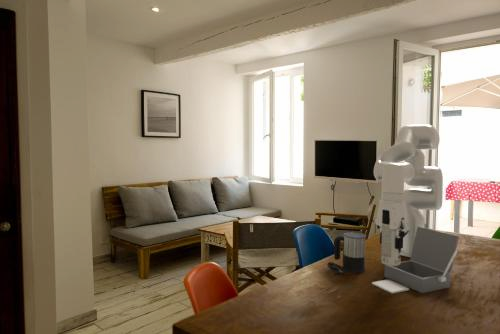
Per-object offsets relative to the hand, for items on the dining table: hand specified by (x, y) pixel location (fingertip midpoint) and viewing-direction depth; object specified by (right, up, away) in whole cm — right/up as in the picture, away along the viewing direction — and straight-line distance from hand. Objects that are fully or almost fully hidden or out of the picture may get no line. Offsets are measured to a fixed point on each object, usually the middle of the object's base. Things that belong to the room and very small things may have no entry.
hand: (391, 245), depth 137 cm
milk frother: (-11, -15, +19) cm, 26 cm away
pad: (0, -15, +1) cm, 15 cm away
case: (+14, -15, +7) cm, 22 cm away
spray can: (0, -7, 0) cm, 7 cm away
